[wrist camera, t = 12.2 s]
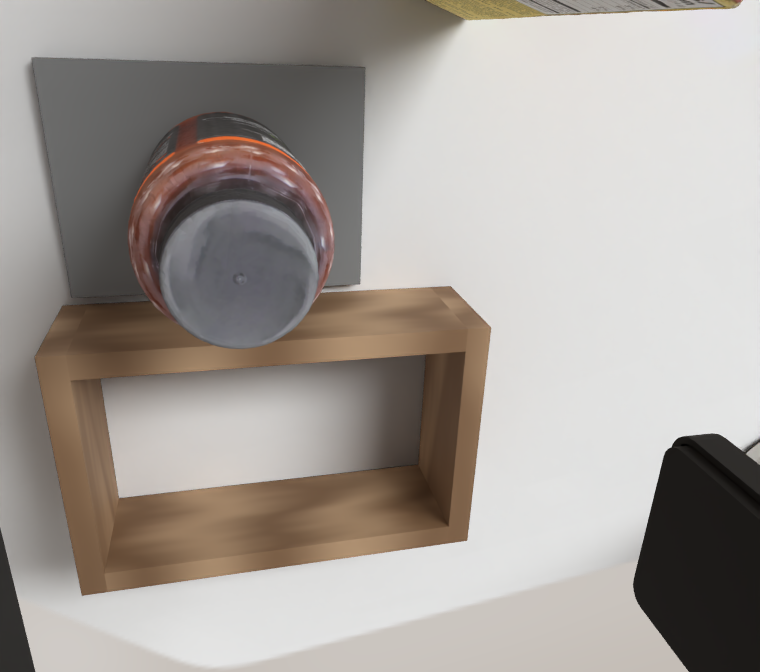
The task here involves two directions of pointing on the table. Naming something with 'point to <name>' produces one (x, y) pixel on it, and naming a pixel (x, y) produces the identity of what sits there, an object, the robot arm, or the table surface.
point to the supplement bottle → (229, 232)
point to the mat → (163, 112)
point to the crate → (274, 498)
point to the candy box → (569, 7)
